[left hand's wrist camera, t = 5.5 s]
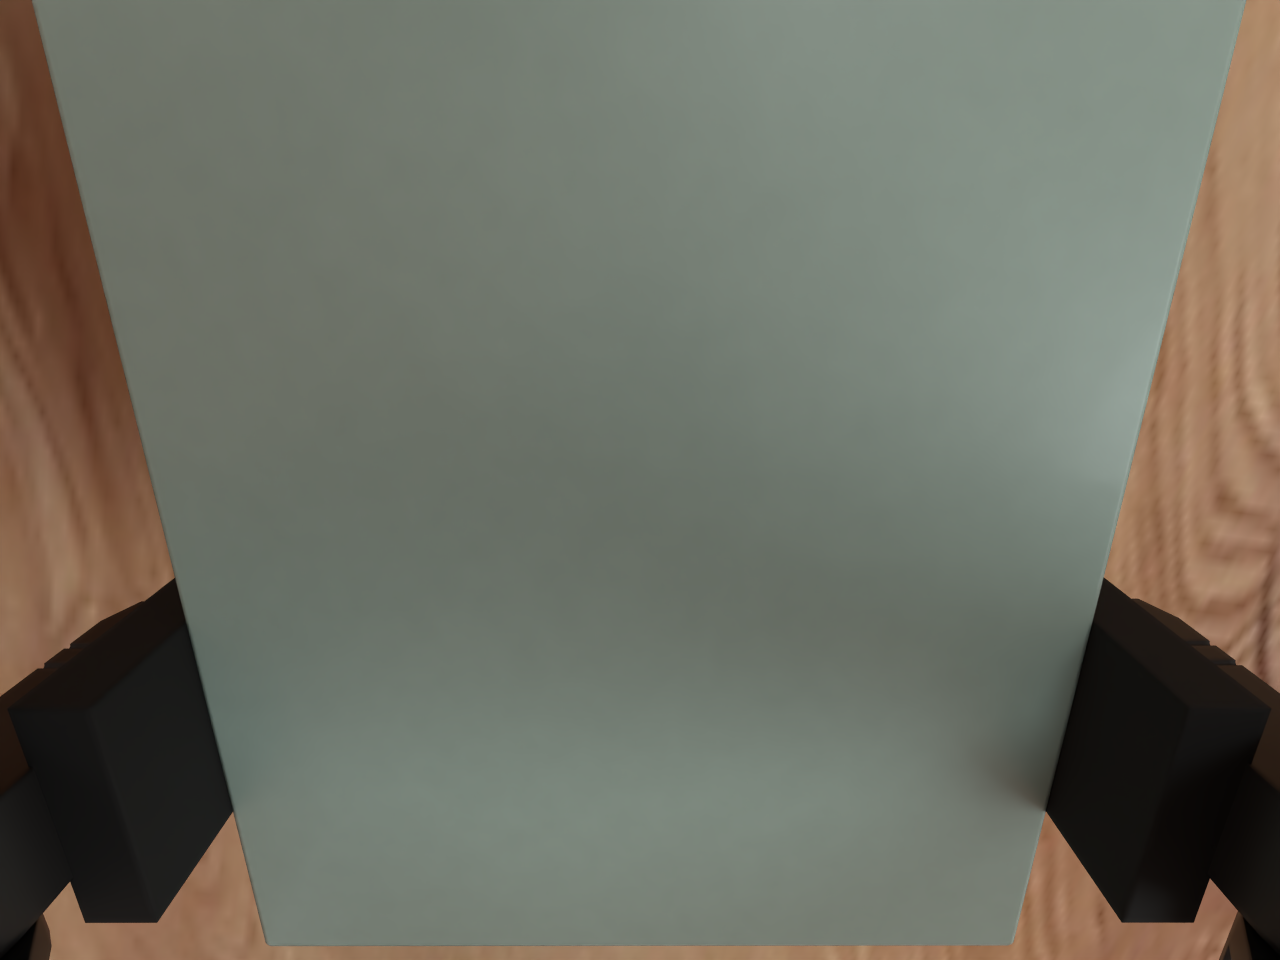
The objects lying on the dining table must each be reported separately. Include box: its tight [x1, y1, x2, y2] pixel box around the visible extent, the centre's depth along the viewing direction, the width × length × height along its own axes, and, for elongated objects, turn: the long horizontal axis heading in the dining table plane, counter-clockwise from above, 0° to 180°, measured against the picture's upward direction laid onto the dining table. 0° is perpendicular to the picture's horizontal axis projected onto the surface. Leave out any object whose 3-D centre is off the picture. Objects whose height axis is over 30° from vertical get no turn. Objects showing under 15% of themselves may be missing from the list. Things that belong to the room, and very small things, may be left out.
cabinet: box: [32, 0, 1246, 946], centre depth 12 cm, size 17×10×11 cm, turn 0°
